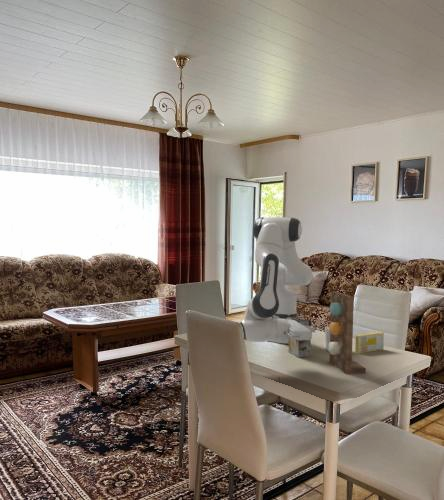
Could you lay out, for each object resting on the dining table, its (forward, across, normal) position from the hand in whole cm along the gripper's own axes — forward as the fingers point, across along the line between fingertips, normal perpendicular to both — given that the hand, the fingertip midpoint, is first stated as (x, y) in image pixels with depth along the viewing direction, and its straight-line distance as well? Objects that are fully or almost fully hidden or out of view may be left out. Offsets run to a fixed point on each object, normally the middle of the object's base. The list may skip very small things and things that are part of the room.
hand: (314, 329), depth 173 cm
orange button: (+9, 0, +2) cm, 10 cm away
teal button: (+9, 0, -6) cm, 11 cm away
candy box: (+36, +21, +16) cm, 45 cm away
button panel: (+15, 0, +16) cm, 22 cm away
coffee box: (+1, +20, +16) cm, 26 cm away
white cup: (+20, +26, +16) cm, 37 cm away
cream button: (+9, 0, +10) cm, 14 cm away
